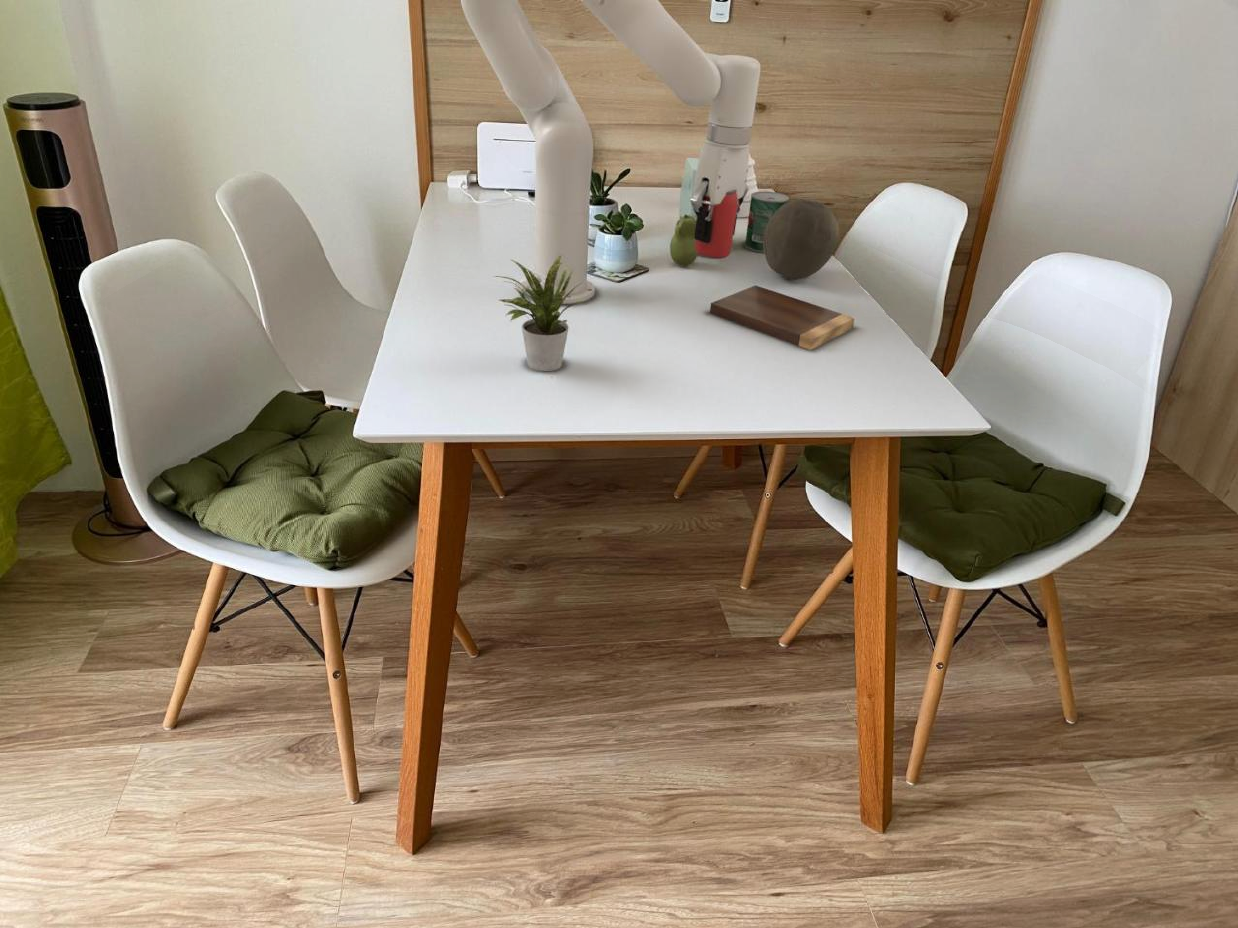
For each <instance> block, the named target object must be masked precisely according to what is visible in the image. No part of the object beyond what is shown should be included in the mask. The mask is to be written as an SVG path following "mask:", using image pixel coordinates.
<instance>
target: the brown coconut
mask: <svg viewBox="0 0 1238 928" xmlns="http://www.w3.org/2000/svg"><path fill="white" fill-rule="evenodd" d="M839 241H840V226H839V223H838V220H837V218H836V216H835V215H834V214H833V212H832V210H831V209H830V208H829V207H828V206H827V205H824V204H823V203H822V202H818V201H812V200H809V199H804V198H799V199H794V200H790V201H788V203H785V204H784V205H782V206H781V207H780V208H779V209H778V210H777V211H776V212H775V213H774V215H773V216H772V217H771V219H770V220H769V222H768V224H767V226H766V230H765V233H764V238H763V249H764V253H763V254H764V258H765V261H766V263H767V265H768V267H769V268H770V269H771V270H772V271H774V273H776V274H778V275H780V276H782V277H783V278H785V279H786V280H789V281H796V280H801V279H806V278H808V277H811V276H813V275H814V274H816V273H817V272H819V271H820V270H821V269H822V268H824V266H825V265H826V264H827V263H828V262H829V261H830V259H831V258H832V256H833V255H834V253H835V251H836V249H837V247H838V244H839Z"/></svg>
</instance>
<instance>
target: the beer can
mask: <svg viewBox="0 0 1238 928" xmlns="http://www.w3.org/2000/svg"><path fill="white" fill-rule="evenodd" d="M736 192H737V190H735V191H732V192H726V195H725V197H724V198H723V200H722V201H721V203H720V204H718V205H716V206H715V210H714V213H713V215H712V218H711V220H712V221H713V226H712V233H711V240H710V242H709V243H705V242H702V241H699V240H696V241H695V251H696V253H697V255H699V256H701V257H703V258H707V259H713V260H721V259H726V258H727V257H729V256H730V255H731V251H732V245H733V238H734V235H733V232H734V226H735V219H736V212H737V206H738V197H737V193H736ZM705 200H706V201H710V198H709V197H706V198H705ZM704 207H705V209H706V210H707V211H708V208H709V205H704Z"/></svg>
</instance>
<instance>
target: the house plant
mask: <svg viewBox="0 0 1238 928" xmlns="http://www.w3.org/2000/svg"><path fill="white" fill-rule="evenodd" d="M560 259H561V256H559V257H558V258H557V259H556V261H555V262H554V264H553V265H552V266H551V267H550V269H549V272H548V274H547V277H546V279H545V286H544V291H543V288H542V286H541V284H540V282H539V281H538V279H537V278H536V277H535V276H534V274H532V272H531V270H529V269H528V268H526V267H525V266H523V265H522V264H521V263H520V262H517V261H516V260H512V259H511V261H512V262H513V263H515V264H516V265H517V266H518V267H519V268H520V269H521V271H522V272H523V274H524V277H525V279H527V281H528V283H529V285H530V287H531V289H532V290H530V289H528V288H525V287H524V286H523V285H522V284H521V283H519V282H518V281H519V280H516V279H514V278H511V277H508V276H502V275H493V277H494V278H495V277H496V278H501V279H502V278H503V279H507V280H509V284H513V285H514V287H513V289H514V290H515V291H516V292H517V293H518V295H519V296H517V297H514V298H508V299H507V298H503V299H499V301H500V302H502V303H506V304H505V306H508V307H511V308H514V309H511V310H510V311H508V312H507V313H506V315H505V317H507V316H509V315H512V316H511V318H510V320H509V323H511V322H512V321H513V320H515V319H519V318H520V317H522V316H525V317H526V318H528V316H527V315H529V316H530V317H531V318H529V319H528V320H525V321H523V323H522V324H521V331H522V337H523V342H524V350H525V354H526V361H527V365H528V367H529V368H530V369H532V370H535V371H538V372H553V371H556V370H559V369H560V368H561V367H562V365H563V359H564V353H565V350H566V343H567V339H568V334H569V325H568V323H567V322H568V320H567V319H563V320H561V319H559V318H560V317H561V316H562V314H563V312H565V311H566V310H567V309H568V308H570V307H572V306H575V305H581V304H583V305H586V303H585V301H583V302H576V303H572V304H568V305H567V306H566V307H565V308H564V309H562V311H561V312H560V311H559V310H560V308H561V306H562V305H563V304H562V303H563V301H564V300H565V298H566V297H567V296H568V295H569V294H570V293H571V292H572V291H573V290H574V289H575V288H576V287H577V286H578V285H577V286H575V287H574V288H573V289H572V290H571V291H570V292H569V293H568V294H567V295H566V296H565V297H564V298H563V296H564V294H565V292H566V291H567V290H566V291H565V289H566V287H567V285H568V283H569V281H570V278H571V275H572V271H573V270H572V271H571V273H570V275H569V277H568V278H567V279H566V281H565V284H564V286H563V288H562V290H561V292H560V289H561V286H562V284H563V281H564V279H565V276H566V271H567V266H566V268H565V270H564V272H563V274H562V276H561V280H560V282H559V285H558V287H557V290H556V293H555V294H554V285H555V280H556V276H557V272H558V269H559V266H560V265H561V264H562V263H560ZM530 276H531V277H530ZM531 279H532V280H531ZM511 281H513V282H511ZM532 281H533V282H532ZM514 282H515V283H516V282H517V283H519V284H520V285H522V286H523V288H525V290H526V291H522V292H521V291H520V290H518V289H516V288H515V285H516V284H515V283H514ZM503 283H507V281H503ZM533 283H534V284H533ZM580 284H581V283H580ZM580 284H579V285H580ZM516 286H517V285H516ZM534 286H535V287H534ZM518 287H519V286H518ZM519 288H520V287H519ZM535 288H536V289H535ZM520 289H521V288H520ZM521 290H522V289H521ZM568 291H569V290H568ZM525 292H526V294H527V293H528V294H529V295H530V296H529V295H528V294H527V295H528V296H529V297H531V299H532V301H533V302H534V303H532V301H530V298H529V297H528V296H527V295H526V294H525ZM559 292H560V293H559ZM507 303H508V304H507ZM511 304H512V305H511ZM517 307H519V308H521V309H519V308H517ZM522 309H525V310H522ZM526 310H528V311H529V312H530V313H529V312H528V311H526Z"/></svg>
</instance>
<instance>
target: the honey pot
mask: <svg viewBox="0 0 1238 928" xmlns="http://www.w3.org/2000/svg"><path fill="white" fill-rule="evenodd" d="M755 164H756V161H755V159H754V158H752V157H751V154H750V152H749V162H748V173H747V181H746V185H747V186H748V192H747V194H746V195H745V197H744V198H743V202H742V204H741V205H740V211H739V213H738V214H737V218H749V210H750V203H751V194H752V193H754V192H759V188H758V186H757V184H758V183H757V182H758V181H757V179H756V178H757V176H756V175H757V174H756V173H755V169H754V166H755Z"/></svg>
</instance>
